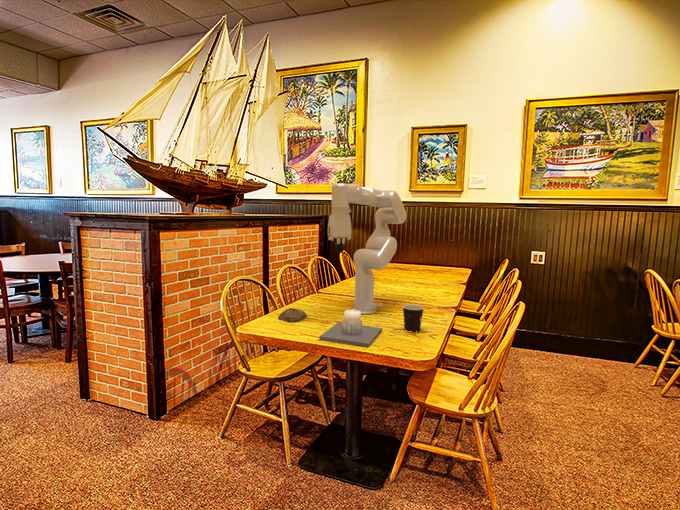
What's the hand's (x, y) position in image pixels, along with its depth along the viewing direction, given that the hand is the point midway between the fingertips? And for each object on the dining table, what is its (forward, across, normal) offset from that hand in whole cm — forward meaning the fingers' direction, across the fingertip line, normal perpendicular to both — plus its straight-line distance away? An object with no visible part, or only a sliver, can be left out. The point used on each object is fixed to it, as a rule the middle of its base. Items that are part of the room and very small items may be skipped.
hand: (339, 252), depth 167 cm
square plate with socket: (+31, +3, +21) cm, 38 cm away
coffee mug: (+32, -23, +24) cm, 46 cm away
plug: (+30, +3, +21) cm, 37 cm away
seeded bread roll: (+32, +20, -11) cm, 39 cm away
